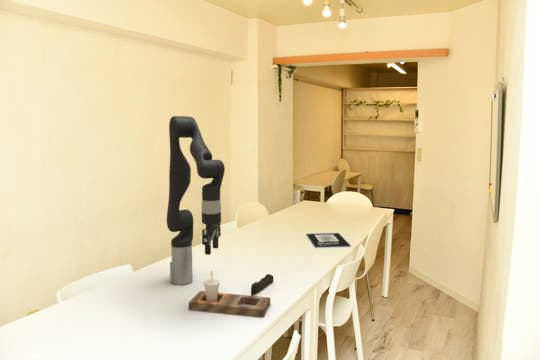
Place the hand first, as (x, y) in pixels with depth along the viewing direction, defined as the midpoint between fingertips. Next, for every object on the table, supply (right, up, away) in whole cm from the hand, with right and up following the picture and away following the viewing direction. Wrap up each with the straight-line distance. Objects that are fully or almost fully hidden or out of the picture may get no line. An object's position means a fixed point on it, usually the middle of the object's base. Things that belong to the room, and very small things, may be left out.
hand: (211, 251), depth 176 cm
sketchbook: (+59, -10, +99) cm, 116 cm away
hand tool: (+20, -20, +20) cm, 35 cm away
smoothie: (0, -22, +3) cm, 22 cm away
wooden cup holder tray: (+7, -22, +1) cm, 23 cm away
